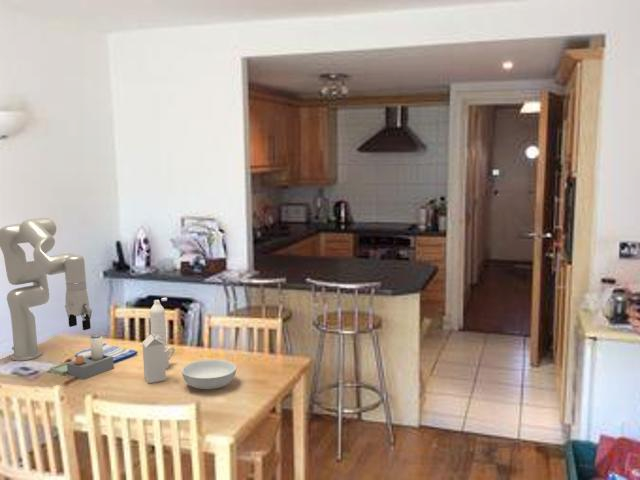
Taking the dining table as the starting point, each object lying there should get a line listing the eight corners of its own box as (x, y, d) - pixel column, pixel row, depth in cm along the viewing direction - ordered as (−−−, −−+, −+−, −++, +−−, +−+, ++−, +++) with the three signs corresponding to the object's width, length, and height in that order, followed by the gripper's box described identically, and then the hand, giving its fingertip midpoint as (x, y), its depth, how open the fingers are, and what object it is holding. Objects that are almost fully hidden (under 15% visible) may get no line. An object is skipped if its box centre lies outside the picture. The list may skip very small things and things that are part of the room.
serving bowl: (212, 399, 221) (211, 381, 220) (171, 388, 232) (170, 371, 231) (247, 381, 238) (247, 364, 237) (208, 371, 249) (207, 355, 248)
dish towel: (105, 347, 284) (105, 341, 283) (139, 356, 271) (139, 350, 271) (73, 358, 269) (73, 352, 269) (107, 367, 257) (107, 361, 256)
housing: (67, 375, 247) (66, 363, 246) (98, 364, 260) (97, 353, 259) (83, 379, 242) (82, 367, 241) (113, 368, 254) (113, 356, 254)
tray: (50, 372, 251) (50, 368, 251) (69, 365, 258) (69, 361, 258) (63, 375, 246) (63, 372, 246) (82, 369, 254) (82, 365, 253)
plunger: (74, 366, 245) (73, 357, 245) (80, 363, 248) (80, 355, 247) (79, 367, 244) (78, 358, 243) (85, 365, 246) (84, 356, 246)
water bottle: (158, 357, 267) (155, 302, 264) (149, 354, 271) (146, 300, 268) (173, 352, 274) (171, 298, 271) (164, 349, 278) (161, 296, 275)
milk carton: (148, 383, 236) (145, 337, 234) (144, 378, 243) (141, 332, 240) (166, 380, 240) (163, 334, 237) (162, 375, 246) (159, 330, 243)
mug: (150, 374, 247) (149, 355, 246) (139, 367, 255) (138, 349, 254) (180, 366, 255) (179, 348, 254) (169, 360, 263) (168, 342, 262)
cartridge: (89, 365, 253) (87, 335, 251) (98, 361, 257) (97, 332, 255) (96, 367, 250) (94, 337, 248) (106, 363, 254) (104, 334, 252)
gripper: (55, 286, 243) (59, 327, 245) (80, 290, 233) (83, 333, 235) (72, 282, 249) (76, 322, 251) (97, 286, 239) (100, 328, 241)
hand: (79, 327), depth 243 cm, fingers open, 9 cm apart
